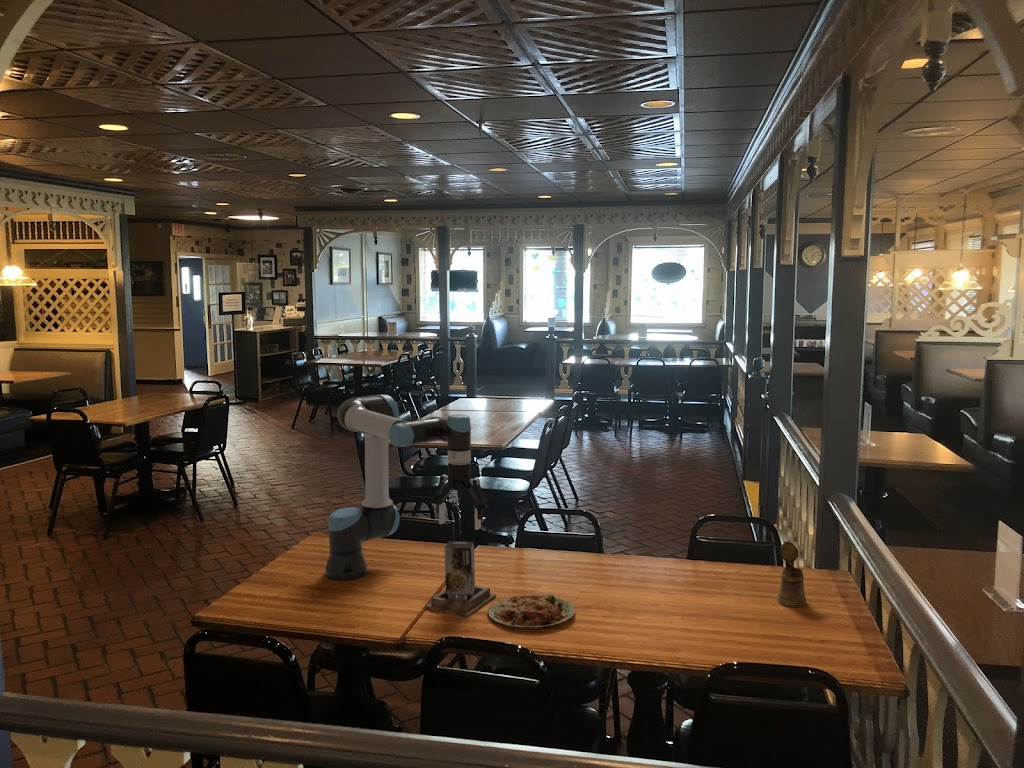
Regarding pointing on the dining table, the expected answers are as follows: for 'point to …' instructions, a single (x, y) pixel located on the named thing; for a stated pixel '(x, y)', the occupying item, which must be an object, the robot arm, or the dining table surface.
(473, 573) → the coffee box
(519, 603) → the rice dish
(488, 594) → the peg stand
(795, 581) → the disc topped pedestal
